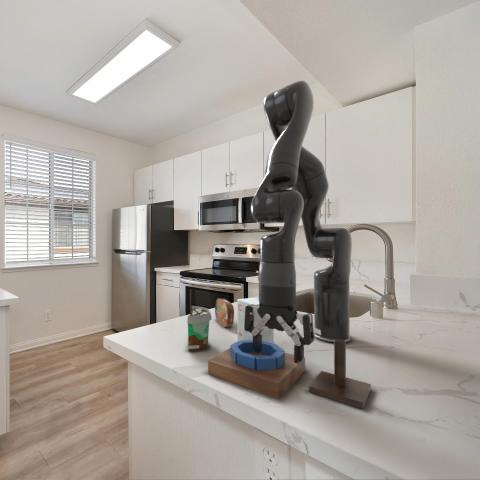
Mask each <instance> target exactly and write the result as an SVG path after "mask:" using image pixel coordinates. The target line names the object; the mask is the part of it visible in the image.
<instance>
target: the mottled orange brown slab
mask: <svg viewBox="0 0 480 480" xmlns="http://www.w3.org/2000/svg"><path fill="white" fill-rule="evenodd" d="M214 315H215V319H216V321H217V322H218V323H219V324H220V326H221V327H223V328H232V327H233V326H234V324H235V321H234V320H235V308H234V305H233V303H232V302H230V301H229V300H227V299H226V298H219V297H218V298H216V300H215V305H214Z"/></svg>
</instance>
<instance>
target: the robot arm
mask: <svg viewBox="0 0 480 480" xmlns="http://www.w3.org/2000/svg"><path fill="white" fill-rule="evenodd" d="M263 111H264V115H265V119H266V122H267V123H268V126H269V128H270V129H269V130H270V131H271V134H272V136H273V138H274V140H275V141H274V143H273V145H272V146H271V148H270V150H269V152H268V155H267V159H266V163H265V164H266V166H265V170H264V175H263V177H262V180H261V182H260V183H259V186H258V187H257V189H256V191H255V193H254V195H253V197H252V200H251V203H250V213H251V217H252V219H253V220H254V221H255V222H257V223H259V224H283V226H282V228H281V229H280V230H279V231H277V232H273V233H269V234H265V235H263V236H261V237H260V240H259V267H258V277H257V281H258V299H259V307H257V306H254V305H253V304H251V305H248V306H246V307H245V322H244V330H245V331H247V332H250V333H251V334H252V335H253V349H255V352H256V353H260V352H261V351H262V335H260V333H261V332H262V331H263V330H264V328H265V327H268V329H273V330H277V331H279V332H285V333H286V334H287V336H288V337H289V338H290V339H291V340H292V342H293V343H294V345H293V355H294V363H297V364H299V363H300V362H301V361H302V360H303V359H304V358H305V346H310V345H311V344H312V343H314V342H315V338H316V339H318V340H320V341H324V342H327V343H332V344H334V339H343V340H345V341H346V343H349V342H350V341H351V336H350V321H351V320H350V311H351V310H350V277H351V276H350V275H351V269H352V251H353V249H352V248H353V241H352V239H353V238H352V234H351V232H350V231H349V229H348V228H345V227H323V226H322V224H321V220H320V213H321V209H322V207H323V205H324V202H325V200H326V198H327V194H328V191H329V187H330V186H329V185H330V184H329V180H328V177H327V173H326V170H325V166H324V163H323V162H322V161H321V159H319V158H318V157H317V156H316V155H315V154H313V153H312V152H311V151H310V150H308V149H307V148H305V147H304V146H303V144H304V141H305V137H306V135H307V132H308V129H309V125H310V122H311V120H312V117H313V116H312V115H313V111H314V95H313V92H312V89H311V86H310V84H308V82H307V81H305V80H298V81H295V82H292V83H289V84H287V85H285V86H284V87H281V88H279V89H277V90H275V91H272V92H270V93H268V94H267V95H265V97H264V99H263ZM300 221H301V222H302V227H303V232H304V235H305V241H306V245H307V249H308V252H309V253H310V254H311V256H313V257H314V258H317V259H332V261H331V264H330V265H329V266H326V267H325V268H320V269H317V270H315V271H314V273H313V294H314V295H313V314H312V313H311V312H307V313H298V311H297V272H296V271H297V270H296V265H295V264H296V263H295V255H296V254H295V249H296V248H295V243H296V238H297V237H296V236H297V232H298V228H299V224H300ZM257 312H258V314H259V316H260V317H261V321H260V322H259V323H258V324H257V325H256V327H254V315H255V314H256V313H257ZM297 320H298V321H299V323H300V324H301V325H302V330H303V331H302V333H303V335H302V334H301V333H300V329H299V328H298V326H297V324H296V321H297Z"/></svg>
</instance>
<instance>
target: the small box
mask: <svg viewBox="0 0 480 480" xmlns="http://www.w3.org/2000/svg"><path fill="white" fill-rule="evenodd" d="M236 304H237V305H236V306H237V307H236V308H237V309H236V310H237V311H236V312H237V314H236V315H237V317H236V318H237V323H236V324H237V325H236V327H237V329H236V330H237V331H236V332H237V342H238V341H241V340H253V335H252V334H251V333H250V332H247V331H245V330H244V322H245V307H246V306H248V305H251V304H253V305H254V306H257V307H259V298H257V297H249V298H248V297H247V298H237V299H236ZM260 321H261V317H260V316H259V314H258V312H257V313H256V314H255V315H254V327H256V325H257V324H258V323H259V322H260ZM274 334H275V333H274V329H268V327H265V328H264V330H263V331H262V332H261V333H260V335H262V341H264V342H269V343H273V344H275V343H274V337H275V336H274Z"/></svg>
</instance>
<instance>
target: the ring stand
mask: <svg viewBox="0 0 480 480" xmlns="http://www.w3.org/2000/svg"><path fill="white" fill-rule="evenodd" d="M371 391H372V384H371V383H368V382H364V381H361V380H357V379H353V378H350V377H347V342H346V341H345V340H343V339H334V343H333V373H332V372H327V371H324V370H321V371H319V373H318V374H317V376H315V378H314V379H313V381H312V382H311V383H310V384H309V385H308V392H309V393H310V394H311V393H312V394H315V395H318V396H320V397H323V398H327V399H331V400H333V401H336V402H339V403H342V404H345V405H348V406H352V407H354V408H357V409H360V410H363V409H364V407H365V406H366V403H367V401H368V398H369V395H370V393H371Z"/></svg>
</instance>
